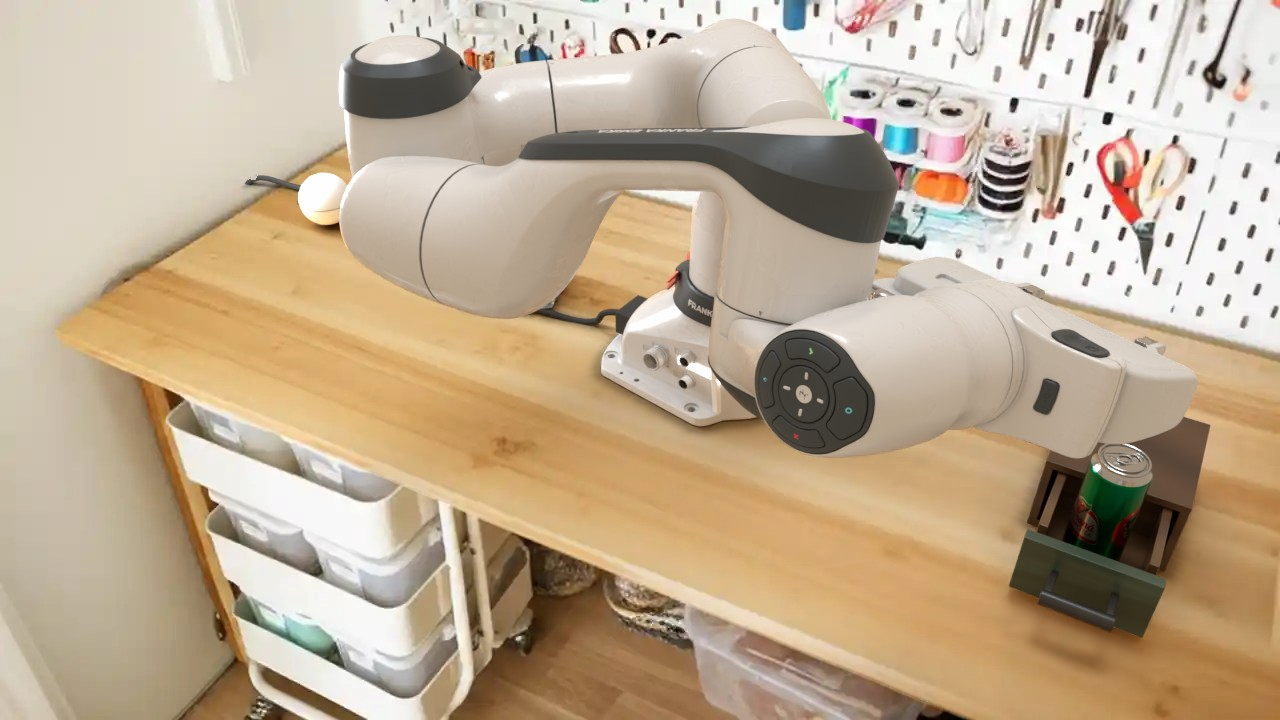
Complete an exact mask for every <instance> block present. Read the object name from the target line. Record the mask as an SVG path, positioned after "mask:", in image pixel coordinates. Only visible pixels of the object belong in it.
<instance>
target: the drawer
mask: <svg viewBox="0 0 1280 720" xmlns="http://www.w3.org/2000/svg"><path fill="white" fill-rule="evenodd" d="M1082 481H1083V479H1080V478H1077V477H1075V476H1072V475H1069V474H1066V473H1063V472H1060V471H1059V472H1058V475H1057V478H1056V480H1055V483H1054V485H1053V488H1052V491H1051V493H1050V496H1049V498H1048V501H1047V504H1046V506H1045V509H1044V512H1043V514H1042V517H1041V519H1040V522H1039V525H1038V526H1037V528H1036V531H1034V530H1032V529H1029V528H1027V529H1026V532H1025V534H1024V537H1023V540H1022V543H1021V546H1020V549H1019V553H1018V556H1017V559H1016V562H1015V565H1014V568H1013V571H1012V574H1011V576H1010V577H1011V578H1010V580H1009V583H1008V587H1009V588H1012V589H1014V590H1017V591H1019V592H1022V593H1025V594H1027V595H1030V596H1032V597H1034V598H1038V599H1037V602H1036V604H1037V605H1038V606H1041V607H1043V608H1047V609H1049V610H1051V611H1054V612H1057V613H1059V614H1062V615H1064V616H1066V617H1069V618H1072V619H1075V620H1077V621H1080V622H1081V623H1084V624H1087V625H1090V626H1093V627H1094V628H1098V629H1100V630H1103V631H1105V632H1108V633H1112V631H1113V629H1114V628H1115V629H1118V630H1119V631H1123V632H1125V633H1127V634H1130V635H1133V636H1136V637H1138V638H1141V639H1142V638H1144V636H1145V634H1146V631H1147V629H1148V627H1149V625H1150V622H1151V621H1152V617H1153V615H1154V613H1155V611H1156V608H1157V607H1158V605H1159V603H1160V600H1161V598H1162V596H1163V593H1164V591H1165V588H1166V585H1167V579H1166V577H1165V578H1164V577H1162V576H1159V575H1157V574H1158V572H1159V571H1160V570H1159V567H1160V563H1161V559H1162V555H1163V551H1164V547H1165V542H1166V538H1167V534H1168V530H1169V526H1170V521H1171V517H1172V513H1173V509H1170V508H1167V507H1164V506H1161V505H1158V504H1155V503H1152V502H1149V501H1146V500H1144V502H1143V504H1142V507H1141V509H1140V512H1139V514H1138V517H1137V519H1136V522H1135V524H1134V527H1133V529H1132V532H1131V534H1130V537H1129V539H1128V542H1127V544H1126V547H1125V549H1124V552H1123V554H1122V557H1121V559H1120V561H1119V562H1118V561H1115V560H1112V559H1109V558H1107V557H1104V556H1101V555H1098V554H1096V553H1093V552H1090V551H1087V550H1085V549H1082V548H1079V547H1076V546H1073V545H1071V544H1068V543H1065V542H1062V538H1063V536H1064V533H1065V530H1066V527H1067V524H1068V521H1069V518H1070V516H1071V513H1072V510H1073V507H1074V504H1075V501H1076V498H1077V496H1078V493H1079V490H1080V487H1081V484H1082Z"/></svg>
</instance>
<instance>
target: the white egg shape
mask: <svg viewBox="0 0 1280 720" xmlns="http://www.w3.org/2000/svg"><path fill="white" fill-rule="evenodd" d="M300 185H301V188H300V190H298V194H297V196H298V197H297V200H296V201H297V203H296V204H297V205H299V208H300V210H301V212H302V214H303V215H304V216H305V217H304V219H306V218H307V219H308V220H310V221H311V222H313V223H314V224H316V225H321V226H331V225H336V224H338V223H340V221H339V214H340V206H341V201H342V198H343V195H344V193H345V190H346V188H347V186H348V185H349V184H347V183H346V182H345V181H344V179H342V178H341V177H340V176H337V175H336V174H334V173H329V172H318V173H315V174H312V175H310V176H308V177H307V178H306V179H305V180H304V182H302V184H300Z"/></svg>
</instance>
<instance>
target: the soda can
mask: <svg viewBox="0 0 1280 720" xmlns="http://www.w3.org/2000/svg"><path fill="white" fill-rule="evenodd" d="M1151 469H1152V463H1151V460H1150V458H1149V457H1148V456H1147V455H1146V454H1145V453H1144V452H1143V451H1141V450H1140V449H1138V448H1136V447H1134V446H1131V445H1128V444H1105V445H1103V446H1101V447H1100V448H1099V450H1098V451H1097V452H1096V453H1094V454H1093V455H1092V457H1091V458H1090V461H1089V464H1088V467H1087V470H1086V473H1085V476H1084V478H1083V481H1082V484H1081V487H1080V490H1079V493H1078V496H1077V498H1076V501H1075V504H1074V507H1073V510H1072V513H1071V516H1070V518H1069V521H1068V524H1067V527H1066V530H1065V533H1064V536H1063V538H1062V542H1065V543H1068V544H1071V545H1073V546H1076V547H1079V548H1082V549H1085V550H1087V551H1090V552H1093V553H1096V554H1098V555H1101V556H1104V557H1107V558H1109V559H1112V560H1115V561H1118V562H1119V561H1120V559H1121V557H1122V554H1123V552H1124V549H1125V547H1126V544H1127V542H1128V539H1129V537H1130V534H1131V532H1132V529H1133V527H1134V524H1135V522H1136V519H1137V517H1138V514H1139V512H1140V509H1141V507H1142V504H1143V502H1144V499H1145V497H1146V494H1147V492H1148V489H1149V487H1150V484H1151V482H1152V480H1153V472H1152V470H1151Z"/></svg>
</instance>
